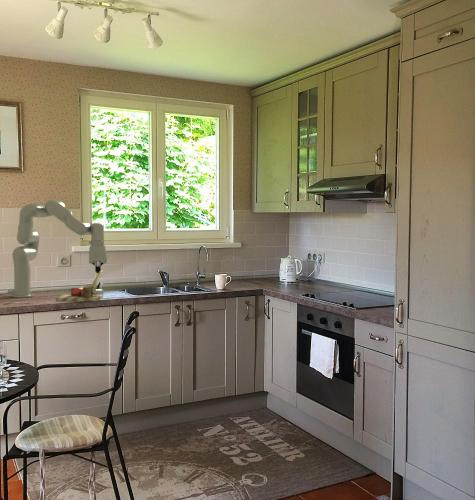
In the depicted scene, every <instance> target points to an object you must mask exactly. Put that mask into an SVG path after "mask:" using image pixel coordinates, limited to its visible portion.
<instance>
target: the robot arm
mask: <svg viewBox="0 0 475 500" xmlns="http://www.w3.org/2000/svg"><path fill="white" fill-rule="evenodd" d="M52 216H53V217H55V218H56V219H57V220H59V221H60V222H62V223H63V224H64V225H65V227H67V228H68V229H69V231H72V232H73V233H75V234H77V235H78V236H90V235H91V236H90V237H91V238H90V239H91V240H90V241H88V244H89V249H88V263H89V264H91V265H93V266H94V268H95V271H94V272H95V273H96V274H98V273H99V272H100V271H101V270H102V269H101V268H102V266H103V265H105V264H107V263H108V261H107V258H108V257H107V249H106V245H105V230H104V229H105V227H104V224H103V223H102V222H101V223H100V222H97V223H96V222H95V223H92V222H82V221H80V220H79V219H77V218H76V217H75V216H73V212H72V210H70V209H68V208H67V207H66V205H65V203H63V201H61V200H57V199H50V200H47V201H46V202H45V203H28V204H26V205H24V206H23V207H21V209H20V212H19V220H18V226H17V227H18V228H17V232H16V233H17V234H16V240H17V242H18V243H19V244H20V245H21V246H17V247H16V248H14V249H13V251H12V253H11V254H12V260H13V261H12V263H13V275H14V276H13V278H14V279H13V281H14V284H13V285H14V286H13V287H14V288H13V289H8V290H7V294H11V297H12V298H31V297H33V296H34V293H31V265H30V261H33V260H35V259H36V258H37V256H38V251H39V243H40V233H39V232H38V231H37V230H35V229H34V219H33V218H46V217H52ZM22 245H23V246H22Z"/></svg>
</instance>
